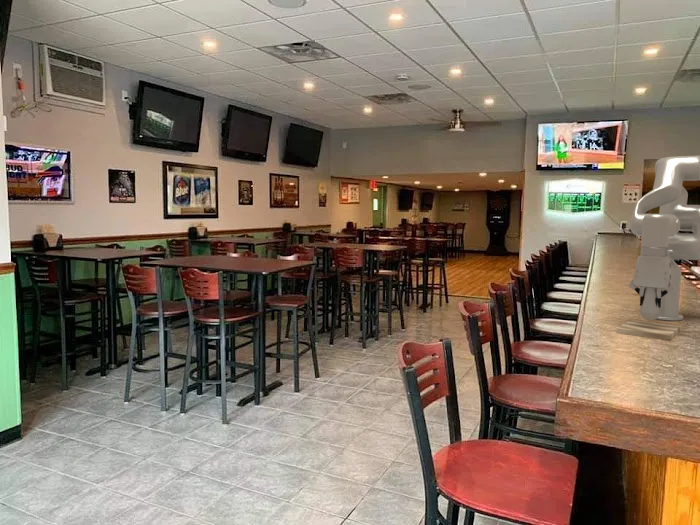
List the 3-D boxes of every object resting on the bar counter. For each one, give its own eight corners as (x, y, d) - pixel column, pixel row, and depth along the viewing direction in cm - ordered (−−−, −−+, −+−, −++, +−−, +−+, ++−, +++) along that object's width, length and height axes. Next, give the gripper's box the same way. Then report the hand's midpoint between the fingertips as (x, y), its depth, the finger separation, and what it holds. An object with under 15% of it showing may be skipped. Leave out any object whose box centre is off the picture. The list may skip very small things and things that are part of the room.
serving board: (629, 324, 183) (629, 319, 183) (679, 330, 174) (680, 326, 174) (616, 332, 170) (616, 328, 170) (669, 340, 160) (670, 335, 160)
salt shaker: (662, 320, 168) (665, 280, 167) (642, 319, 169) (645, 279, 168) (655, 317, 174) (658, 278, 172) (636, 316, 175) (639, 277, 173)
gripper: (685, 253, 167) (681, 311, 169) (628, 250, 177) (625, 304, 179) (681, 254, 161) (677, 314, 163) (623, 251, 172) (619, 307, 173)
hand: (649, 308), depth 171 cm, fingers closed on salt shaker, 3 cm apart
